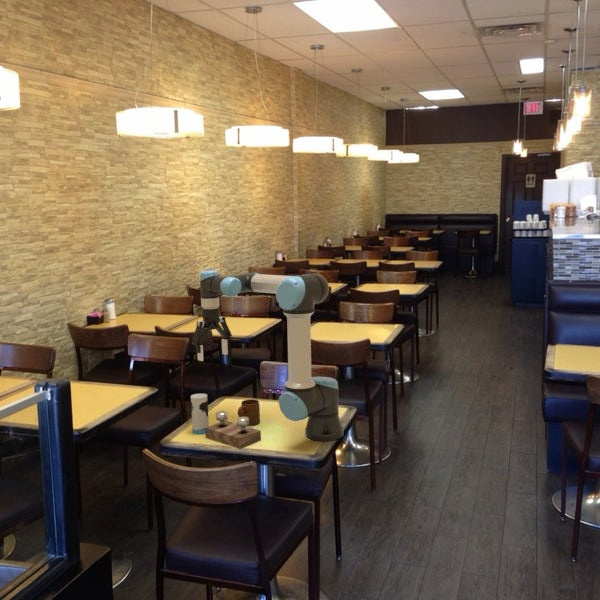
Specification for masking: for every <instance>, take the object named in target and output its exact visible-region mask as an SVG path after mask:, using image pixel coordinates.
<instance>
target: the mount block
mask: <svg viewBox="0 0 600 600" xmlns="http://www.w3.org/2000/svg"><path fill="white" fill-rule="evenodd" d="M261 432H262V431H261V429H257V428H254V427H251V426H246V433H245V434H241V429H240V427H239V426H237V422H236V423H235V422H233V421H229V420H225V427H223V428H221V427H220V422H216V423H214V424H212V425H209V427H206V428H205V438H206V439H210V440H213V441H214V442H215V441H216V442H219V443H221V444H226V445H228V446H231V447H234V448H238V449H240V450H242V449H243V448H245V447H248V446H250V445H253V444H255V443H257V442H261V441H262V433H261Z"/></svg>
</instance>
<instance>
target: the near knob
mask: <svg viewBox="0 0 600 600" xmlns="http://www.w3.org/2000/svg"><path fill="white" fill-rule="evenodd" d="M236 423H237V426H239V427H240V429H241V434H245V433H246V426H247V427H249V426H248V425H249V418H248V417H239V416H238V417H237V418H236Z"/></svg>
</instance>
